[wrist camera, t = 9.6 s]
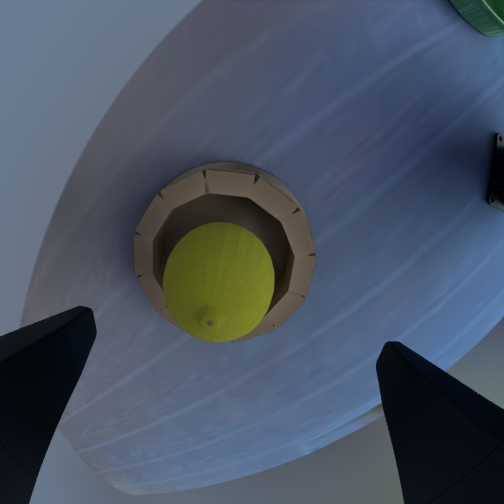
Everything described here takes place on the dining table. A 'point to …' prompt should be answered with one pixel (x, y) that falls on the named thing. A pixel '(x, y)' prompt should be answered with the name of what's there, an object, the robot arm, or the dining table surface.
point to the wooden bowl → (237, 212)
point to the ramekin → (483, 15)
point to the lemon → (218, 282)
